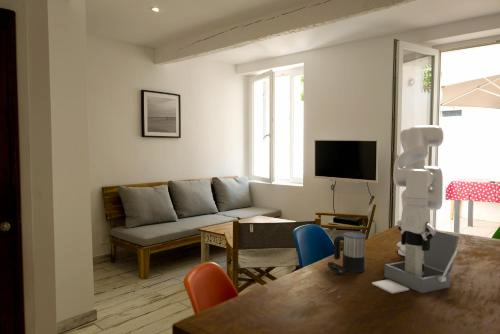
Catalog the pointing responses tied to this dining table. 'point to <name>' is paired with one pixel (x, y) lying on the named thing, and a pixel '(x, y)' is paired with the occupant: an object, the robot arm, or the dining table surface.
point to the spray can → (414, 254)
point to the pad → (390, 286)
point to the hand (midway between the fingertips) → (415, 247)
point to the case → (428, 266)
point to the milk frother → (349, 253)
